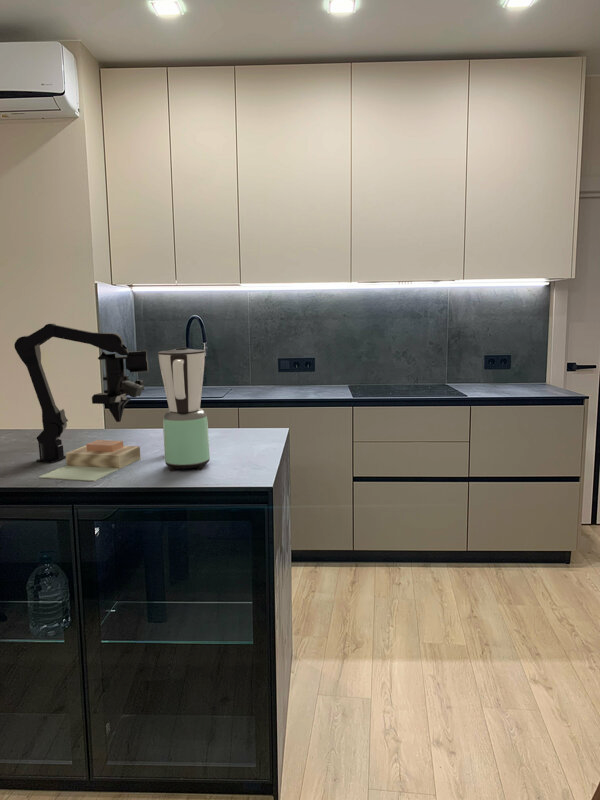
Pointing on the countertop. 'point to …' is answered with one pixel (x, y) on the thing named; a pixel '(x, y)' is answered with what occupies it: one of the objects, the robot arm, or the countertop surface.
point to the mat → (79, 473)
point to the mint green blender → (184, 409)
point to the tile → (104, 445)
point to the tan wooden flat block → (103, 457)
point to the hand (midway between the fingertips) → (118, 421)
